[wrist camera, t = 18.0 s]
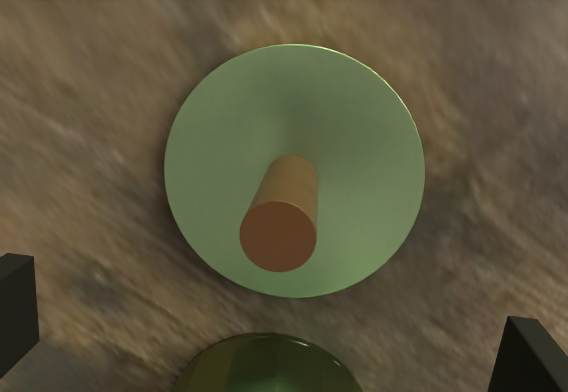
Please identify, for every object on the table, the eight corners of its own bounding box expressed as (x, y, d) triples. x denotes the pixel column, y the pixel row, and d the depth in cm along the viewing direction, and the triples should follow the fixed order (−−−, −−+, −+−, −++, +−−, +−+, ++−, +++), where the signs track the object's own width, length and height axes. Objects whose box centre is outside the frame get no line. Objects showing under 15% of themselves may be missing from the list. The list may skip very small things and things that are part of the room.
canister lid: (122, 183, 30) (24, 244, 20) (281, -17, 26) (255, -63, 16) (302, 331, 32) (293, 452, 22) (476, 168, 28) (560, 228, 18)
